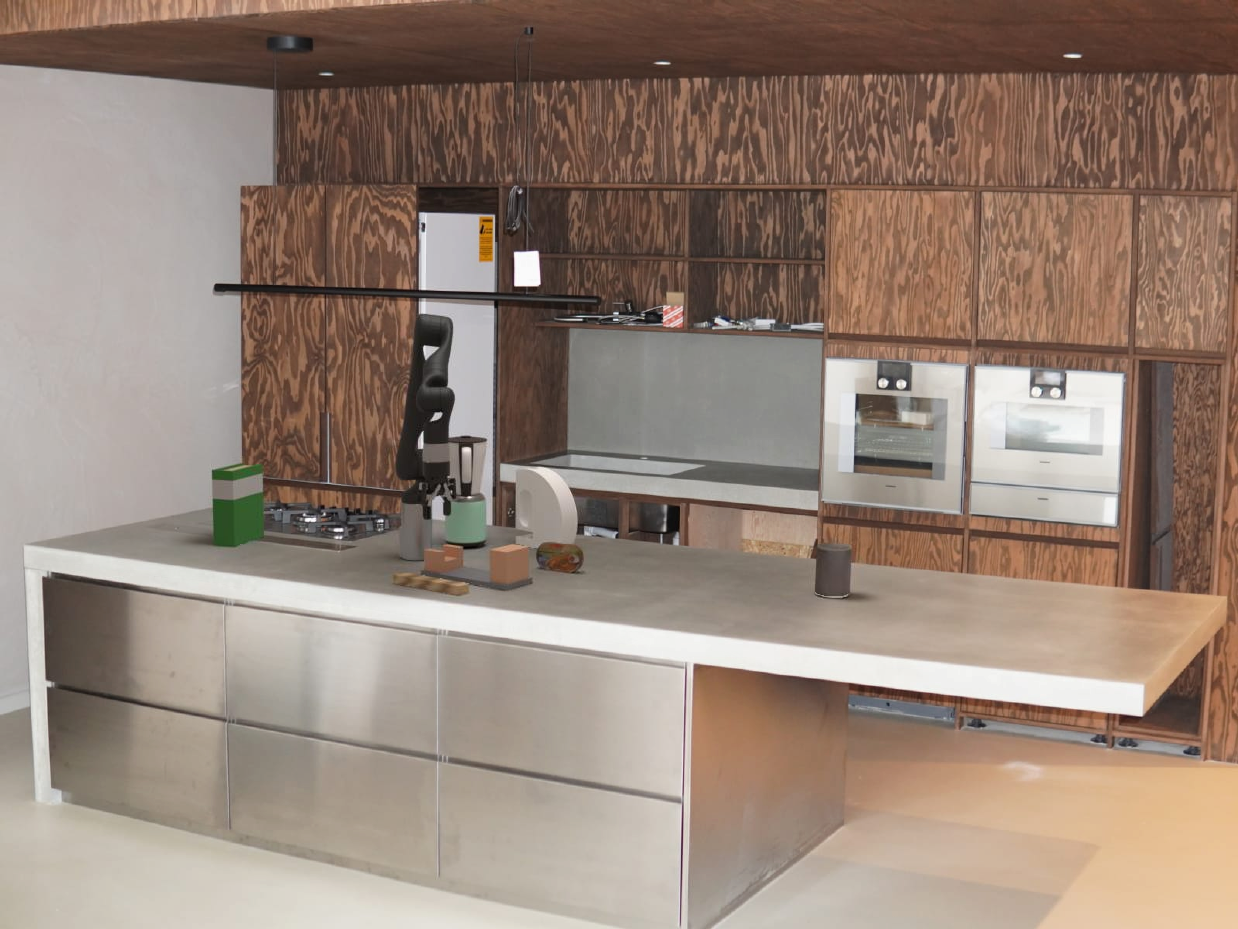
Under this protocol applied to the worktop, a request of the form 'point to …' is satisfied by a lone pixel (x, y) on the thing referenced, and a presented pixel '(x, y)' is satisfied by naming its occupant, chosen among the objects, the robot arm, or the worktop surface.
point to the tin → (559, 557)
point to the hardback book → (237, 504)
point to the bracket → (544, 508)
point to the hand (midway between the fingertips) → (437, 517)
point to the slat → (431, 583)
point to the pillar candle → (833, 569)
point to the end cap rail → (504, 569)
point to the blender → (467, 493)
